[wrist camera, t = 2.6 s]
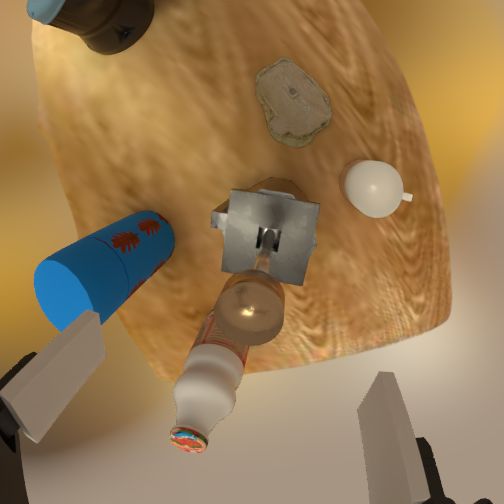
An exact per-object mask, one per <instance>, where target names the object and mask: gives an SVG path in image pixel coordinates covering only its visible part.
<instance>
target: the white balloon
mask: <svg viewBox="0 0 504 504" xmlns="http://www.w3.org/2000/svg"><path fill="white" fill-rule="evenodd" d="M339 185H340V190H341V192H342V194H343V196H344V197H345V198H346V199H347V200H348V201H349V202H350V203H351V204H352V205H354V206H355V207H356V208H357V209H358V210H359V211H361V212H362V213H363V214H365V215H367V216H369V217H373V218H382V217H386V216H388V215H390V214H391V213H393V212H394V211H395V210H396V209H397V208H398V206H399V205H400V203H401V200H402V199H403V200H407V201H411V200H412V196H413V195H411V194H409V193H406V192H404V191H403V183H402V179H401V177H400V175H399V173H398V172H397V171H396V170H395V169H394V168H393V167H392V166H391V165H389V164H387V163H384V162H380V161H371V160H355V161H352V162H350V163H349V164H347V165H346V166H345V167H344V169H343V170H342V172H341V175H340V179H339Z"/></svg>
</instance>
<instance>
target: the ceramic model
mask: <svg viewBox="0 0 504 504" xmlns="http://www.w3.org/2000/svg"><path fill="white" fill-rule="evenodd" d="M255 83H256V96H257V99H258V101H259V102H260V103H261V105H262V106H263V109H264V114H265V116H266V121H267V126H268V129H269V131H270V133H271V135H272V137H273V138H274V139H275V140H276V141H278V142H280V143H283V144H286V145H289V146H291V147H295V148H299V147H305V146H307V145H308V144H309V143H310V141H311V140H312V139H313V138H314V136H315V135H316V134H317V133H318V132H319V131H320V130H322V129H324V128H326V127H327V126H328V125H329V123H330V121H331V117H332V110H331V108H330V100H329V97H328V96H327V94H326V93H325V92H324V90H323V89H322V88H321V87H320V86H319V85H318V84H317V82H316V81H315V80H313V79H312V78H311V77H310V76H309V75H308V74H307V73H306V72H305V71H304V70H302V69H301V68H300V67H299V66H297V65H296V64H295V63H294V62H293V61H292V60H291V59H289V58H286V57H284V58H282V59H278V60H277V62H275V63H274V64H272V65H271V66H269V67H267V68H263V69H262V70H261V71H260V72H259V73H258V74H257V76H256V79H255Z"/></svg>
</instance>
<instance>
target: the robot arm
mask: <svg viewBox="0 0 504 504" xmlns="http://www.w3.org/2000/svg"><path fill="white" fill-rule="evenodd" d="M27 13H28V15H29V16H30V17H31V18H32V19H34V20H37V21H39V22H41V23H42V24H46V25H50V26H53V27H56V28H59V29H62V30H65V31H68V32H71V33H73V34H76V35H79V36H80V37H81V38H82V40H83V41H84V42H85V43H86V44H87V46H88V47H89V48H90V49H91V50H93V51H95V52H97V53H100V54H103V55H111V54H115V53H118V52H121V51H123V50H125V49H127V48H128V47H130V46H131V45H132V44H134V43H135V42H136V41H137V40H138V39H139V38H140V37H141V36H142V35H143V34H144V32H145V31H146V30H147V28H148V27H149V25H150V23H151V20H152V18H153V14H154V5H153V2H152V0H28V1H27ZM105 357H106V352H105V347H104V341H103V335H102V329H101V323H100V317H99V313H97V312H94V311H91V310H88V309H87V310H85V311H84V312H83V313H82V314H81V315H80V316H79V317H77V318H76V319H75V320H74V321H73V322H72V323H71V324H70V325H68V326H67V327H66V328H65V329H64V330H63V331H62V332H61V333H60V334H58V335H57V336H56V337H55V338H54V339H53V340H52V341H51V342H50V343H49V344H48V345H47V346H45V347H44V348H43V349H42V350H41V351H40V352H39V353H38V354H37V353H35V352H32V353H30V354H28V355H26V356H24V357H23V358H22V359H21V360H20V361H19V362H18V364H16V365H15V366H14V367H13V368H12V370H10V371H9V372H8V373H6V374H5V375H4V377H2V378H1V380H0V504H29V502H28V497H27V492H26V487H25V481H24V475H23V468H22V461H21V452H20V440H19V433H18V431H17V430H18V429H19V428H21V429H22V431H23V432H24V433H25V435H26V436H28V437H29V438H30V439H32V440H33V441H34V442H36V443H37V444H38V443H39V441H40V440H41V439H42V437H43V436H44V435H45V433H46V432H47V431H48V429H49V428H50V427H51V425H52V424H53V423H54V421H55V420H56V419H57V417H58V416H59V415H60V414H61V412H62V411H63V410H64V408H65V407H66V406H67V404H68V403H69V402H70V400H71V399H72V398H73V397H74V395H75V394H76V393H77V392H78V390H79V389H80V388H81V387H82V385H83V384H84V383H85V382H86V380H87V379H88V378H89V377H90V375H91V374H92V373H93V372H94V371H95V369H96V368H97V367H98V366H99V364H100V363H101V362H102V361H103V360H104V358H105ZM357 412H358V418H359V424H360V430H361V436H362V442H363V449H364V457H365V464H366V472H367V480H368V490H369V499H370V504H455V502H454V501H453V500H452V499H450V498H447V497H445V495H444V492H443V488H442V484H441V480H440V476H439V473H438V469H437V466H436V462H435V459H434V458H433V452H432V449H431V446H430V445H429V443H428V442H427V441H426V439H425V438H424V437H422V438H415V435H414V432H413V429H412V426H411V422H410V419H409V416H408V413H407V410H406V407H405V404H404V401H403V398H402V395H401V392H400V390H399V387H398V384H397V381H396V378H395V375H394V373H393V372H379V373H378V375H377V377H376V378H375V380H374V382H373V384H372V385H371V387H370V389H369V391H368V393H367V394H366V396H365V398H364V399H363V401H362V403H361V404H360V406H359V408H358V409H357ZM474 504H493V503H492V502H491V501H490V500H489V499H486V498H484V499H480V500H478V501H477V502H475V503H474Z"/></svg>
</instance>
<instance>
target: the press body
mask: <svg viewBox="0 0 504 504" xmlns="http://www.w3.org/2000/svg"><path fill="white" fill-rule="evenodd" d="M319 208H320V204H319V203H314V202H309V201H307V198H306V196H305V194H304V193H303V192H302V191H301V190H300V189H299V188H298V187H297V186H296V185H295V184H294V183H293V182H292V181H290V180H285V179H279V178H273V177H270V178H268V179H266V180H264V181H262V182H260V183H258V184H256V185H254V186H253V187H251V188H250V189H249V190H248V191H246V190H240V189H231V194H230V199H228V200H227V201H225V202H224V203H223V204H221V205H220V206H219V207H217V208H216V209H215V210H213V211H212V216H211V226H210V227H211V228H216V229H222V232H223V237H224V251H223V259H222V268H221V271H223V272H228V273H233V274H236V273H237V272H240V271H243V270H248V269H253V267H254V264H255V261H256V258H257V255H258V252H259V249H260V246H257V239H258V233H259V227H263V228H269V229H274V230H280V231H281V236H280V242H279V247H278V249H274V248H273V249H272V254H271V259H270V265H269V270H268V274H270V275H272V276H273V277H274V278H275V279H277V281H278V282H282V283H287V284H293V285H299V286H302V285H303V281H304V277H305V273H306V269H307V264H308V260H309V257H310V256H311V254H312V252H313V251H314V249H315V247H316V236H315V228H316V223H317V218H318V213H319Z"/></svg>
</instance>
